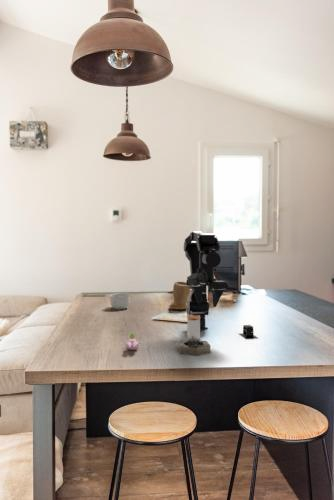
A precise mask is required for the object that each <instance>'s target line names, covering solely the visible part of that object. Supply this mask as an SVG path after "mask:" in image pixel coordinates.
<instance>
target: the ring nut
mask: <svg viewBox="0 0 334 500" xmlns="http://www.w3.org/2000/svg"><path fill="white" fill-rule="evenodd" d="M177 351H178V352H179V354H180V355H188V356H189V355H190V356H201V355H207V354H210V353H211V344H210V342H208V341H207V340H201V339H200V346H188V339H187V340H182V341H177Z"/></svg>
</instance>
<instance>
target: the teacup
mask: <svg viewBox="0 0 334 500" xmlns="http://www.w3.org/2000/svg"><path fill="white" fill-rule="evenodd" d="M109 299H110V306H111V308H113V309H114V310H117V311H118V310H119V311H121V310H125V309H127V308H128V307H129V306H130V300H131V299H130V293H127V292H119V293H112V294H110V295H109Z"/></svg>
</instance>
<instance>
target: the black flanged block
mask: <svg viewBox="0 0 334 500" xmlns="http://www.w3.org/2000/svg"><path fill="white" fill-rule="evenodd" d="M238 336H241V337H242V338H243V339H245V340H249V339H250V340H252V339H255V340H256V339H259V337H258V336H256V335H254V326H253V325H251V324H244V325H243V326H242V333H241V332H240V333H238Z"/></svg>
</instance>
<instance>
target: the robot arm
mask: <svg viewBox="0 0 334 500" xmlns="http://www.w3.org/2000/svg"><path fill="white" fill-rule="evenodd" d="M220 248H221V245H220V242H219V239H218V237H217V236H216V234H215V233H205V232H203V231H201V230H192V231H190V233H189V235H188V236H187V237H186V238H185V239H184V242H183V252H185V253H184V254H185V255H184V256H185V258H187V260H188V262H189V270H190V275H189V276H186V281H185V282H186V285H189V288H190V290H191V294H190V295H189V297H188V302H187V304H188V305H187V308H186V314H187V315H189V314H198V315H200V331H202V330H208V327H207V326H206V316H208V315H209V314H210V312H209V311H210V306H211V305H210V304H209V303H210V302H209V300H208V296H207V293H205V292H204V286H205V287H210V288H211V289H209V291H210V292H211V295H212V307H213V308H215V307H217V305H218V303H219V301H220V300H221V297H222V295H223V294H224V292H225V291H227V289H229V283H228V281H227V280H217V278H215V272H217V268H216V267H218V266H219V265H220V264H221V261H222V259H221V256H220V254H219V253H218V252H219V251H220Z"/></svg>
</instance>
